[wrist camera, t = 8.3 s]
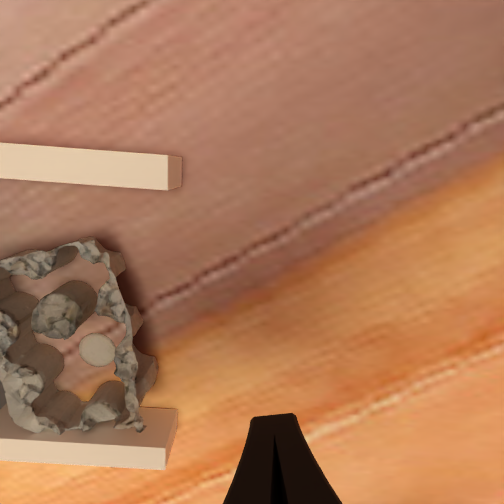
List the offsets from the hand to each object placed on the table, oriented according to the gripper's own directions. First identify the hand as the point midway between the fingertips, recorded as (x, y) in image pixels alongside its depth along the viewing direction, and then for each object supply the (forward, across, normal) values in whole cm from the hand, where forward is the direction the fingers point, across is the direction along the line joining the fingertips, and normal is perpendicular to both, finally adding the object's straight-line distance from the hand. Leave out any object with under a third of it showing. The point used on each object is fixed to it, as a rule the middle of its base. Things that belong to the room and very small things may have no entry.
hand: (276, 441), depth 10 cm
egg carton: (+10, +11, 0) cm, 15 cm away
